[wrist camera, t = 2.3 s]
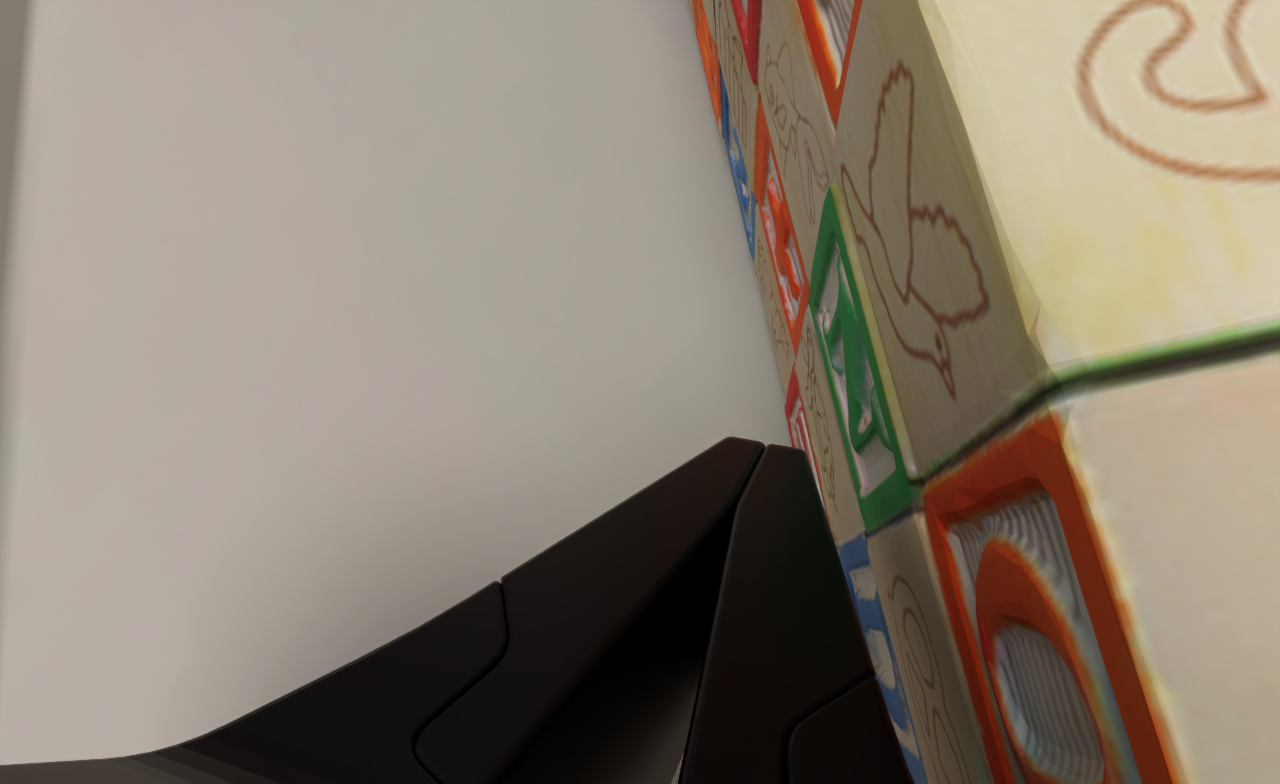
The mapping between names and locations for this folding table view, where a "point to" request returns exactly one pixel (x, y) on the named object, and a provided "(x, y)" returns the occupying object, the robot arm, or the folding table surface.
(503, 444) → the folding table surface
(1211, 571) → the stack of blocks
